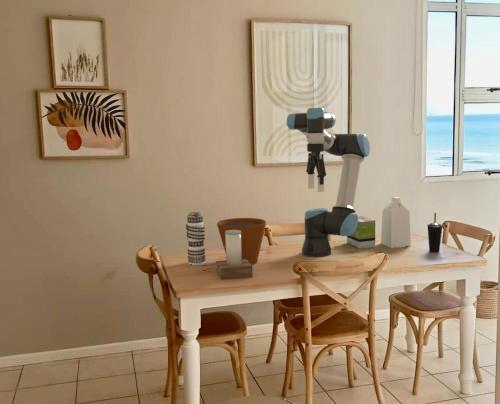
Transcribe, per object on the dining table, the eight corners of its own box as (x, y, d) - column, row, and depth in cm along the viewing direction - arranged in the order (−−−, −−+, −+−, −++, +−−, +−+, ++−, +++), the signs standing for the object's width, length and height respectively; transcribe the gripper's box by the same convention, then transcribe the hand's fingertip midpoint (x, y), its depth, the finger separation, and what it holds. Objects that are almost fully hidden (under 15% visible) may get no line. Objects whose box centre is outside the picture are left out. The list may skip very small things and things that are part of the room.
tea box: (346, 243, 311) (346, 217, 309) (362, 241, 314) (362, 215, 312) (359, 248, 297) (359, 221, 295) (376, 247, 300) (376, 219, 298)
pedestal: (216, 271, 258) (216, 261, 258) (246, 269, 261) (246, 258, 261) (221, 279, 245) (221, 268, 244) (252, 277, 248) (252, 266, 247)
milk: (410, 246, 300) (411, 198, 296) (391, 247, 297) (391, 199, 293) (399, 241, 311) (400, 195, 308) (380, 243, 309) (381, 196, 305)
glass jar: (224, 262, 255) (223, 230, 253) (240, 261, 256) (239, 229, 254) (227, 266, 248) (226, 233, 246) (243, 264, 249) (242, 232, 247)
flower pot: (276, 261, 275) (276, 221, 272) (241, 271, 258) (240, 228, 256) (243, 254, 292) (242, 216, 289) (208, 262, 275) (207, 222, 272)
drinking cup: (445, 252, 284) (446, 213, 281) (433, 254, 281) (434, 214, 278) (435, 249, 291) (436, 211, 288) (423, 250, 288) (424, 212, 285)
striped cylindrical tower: (185, 261, 278) (183, 212, 275) (203, 259, 281) (201, 210, 278) (190, 266, 270) (187, 214, 266) (208, 264, 273) (206, 213, 269)
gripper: (299, 142, 261) (299, 187, 264) (316, 144, 237) (316, 193, 240) (314, 141, 262) (315, 186, 265) (333, 143, 238) (333, 192, 241)
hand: (315, 190), depth 253 cm, fingers open, 13 cm apart
